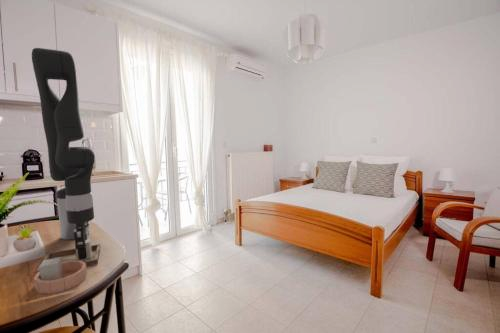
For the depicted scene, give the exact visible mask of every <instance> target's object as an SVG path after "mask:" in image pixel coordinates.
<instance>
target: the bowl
mask: <svg viewBox="0 0 500 333" xmlns="http://www.w3.org/2000/svg"><path fill="white" fill-rule="evenodd" d="M61 263H62V273H63V277H62V278H61V279H56V280H52V281H47V280H41V274H40V272H38V273H37V274H36V273H35V276H34V277H33V283H34V290H35V291H36V292H37V293H39V294H54V293H55V294H56V293H58V292H63V291H66V290H68V289H70V288H71V289H72V288H73V287H76V286H78V285H79V284H80V283H82V281H85V279H86V278H87V276H88V275H87V273H88V271H87V266H86V263H85V262H83V261H74V260H71V261H66V262H61Z"/></svg>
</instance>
